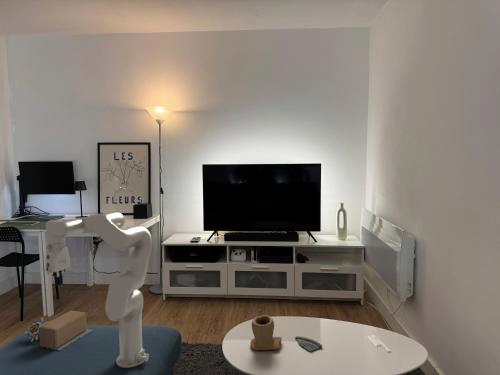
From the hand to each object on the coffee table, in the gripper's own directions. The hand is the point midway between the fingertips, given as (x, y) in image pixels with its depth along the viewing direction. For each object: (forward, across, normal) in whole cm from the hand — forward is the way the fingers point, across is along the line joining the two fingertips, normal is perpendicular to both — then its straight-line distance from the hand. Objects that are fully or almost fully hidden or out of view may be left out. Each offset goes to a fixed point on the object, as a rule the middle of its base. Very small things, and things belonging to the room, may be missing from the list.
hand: (59, 284), depth 160 cm
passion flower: (+30, +4, +18) cm, 36 cm away
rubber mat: (+30, +7, +4) cm, 31 cm away
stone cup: (+33, +29, -93) cm, 103 cm away
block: (+25, -4, +5) cm, 26 cm away
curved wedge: (+34, +38, -112) cm, 123 cm away
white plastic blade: (+35, +49, -143) cm, 155 cm away
